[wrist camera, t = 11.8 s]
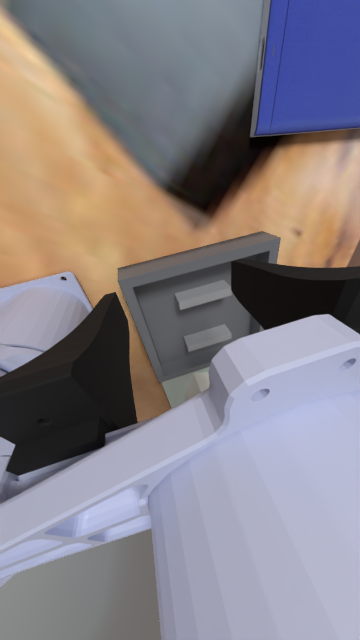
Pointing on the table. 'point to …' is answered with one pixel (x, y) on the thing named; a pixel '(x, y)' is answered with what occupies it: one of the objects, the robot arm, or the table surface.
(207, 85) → the table surface
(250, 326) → the gray square tray
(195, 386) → the block
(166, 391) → the sage mat
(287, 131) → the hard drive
